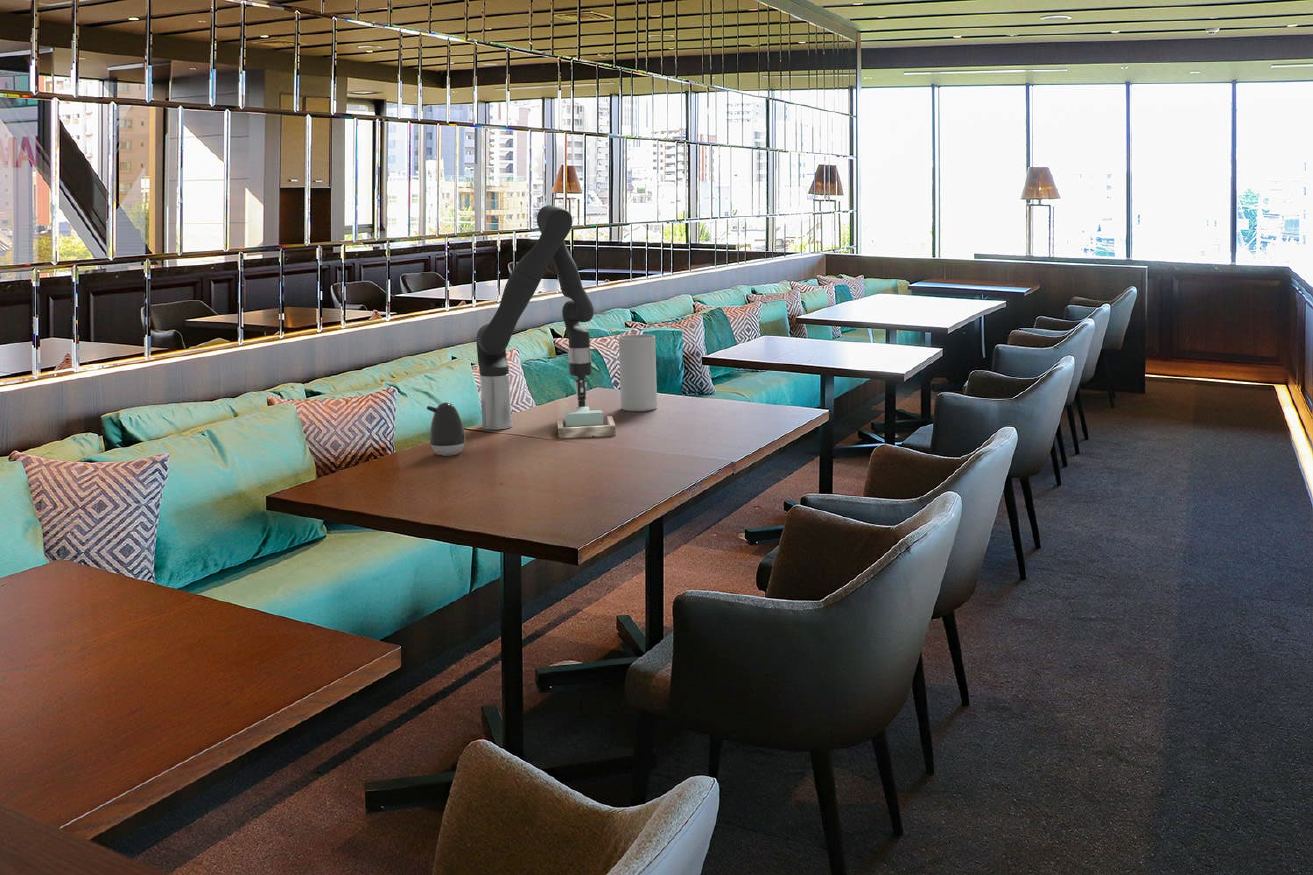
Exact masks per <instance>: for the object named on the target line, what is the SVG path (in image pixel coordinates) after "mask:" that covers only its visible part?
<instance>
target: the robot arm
mask: <svg viewBox="0 0 1313 875" xmlns="http://www.w3.org/2000/svg"><path fill="white" fill-rule="evenodd" d="M536 224H537V227H538V229H539V231H540V236H539V238H538V239H537V242H536V243H535V245H533V247H532V248H531V249H530V250H529V251H528V252H527V253H525V255H523V256H522V257H521V258H520V260H518V262H516V265H515V266H514V267H513V269H512V272H511V273H510V275H509V277H508V279H507V281H506V284H505V286H504V289H503V292H502V296H501V300H500V303H499V305H498V308H497V310H496V312H495V313H494V315H493V317H492V318H491V320H490V321H489V322H488V323H486V324H483V325H482V326H481V327H480V328H479V329H478V330H477V333H476V352H477V363H478V365H477V366H478V368H479V369H478V370H479V383H480V396H481V397H480V398H481V400H480V404H481V405H480V408H481V409H480V410H481V423H482V430H491V431H492V430H495V431H497V430H506V429H509V428H511V427H512V426H513V425H512V408H511V407H512V406H511V390H510V389H511V387H510V385H511V384H510V369H509V368H510V367H509V363H508V358H507V348H508V346H509V343H510V341H511V339H512V335H513V333H514V331H515V329H516V326H517V324H518V322H519V319H520V317H522V314H523V313H524V311H525V310H526V308H527V306H528V304H529V303H530V302H531V300H532V298H533V296H534V294H535V292H536V291H537V289H538V287H539V285H540V283H541V281H542V279H543V277H544V275H545V273H546V271H547V270H548V268H549V265H550V264H551V262H552V263H553V266H554V270H555V272H556V275H557V280H558V283H559V287H560V291H561V293H562V295H563V296H564V297H565V298H569V299H571V300H567V301H565V302H564V304H563V306H562V310H561V315H562V320H563V322H564V326H565V329H566V332H567V336H568V356H567V357H568V374H569V375H570V376H571V377H572V376H573V377H576V379H575V380H574V386H575V392H576V393H575V394H576V397H577V398H576V399H577V403H578V405H577V407H586V400H587V398H586V397H587V396H586V395H587V393H588V392H587V387H588V380H587V379H585V378H586V377H588V376H591V375H592V374H593V373H592V371H593V370H592V368H593V367H592V351H591V341H590V340H591V338H590V337H591V336H590V332H589V330H587V329H585V328H582V327H581V325H580V323H588V322H590V321H591V320H593V317H594V313H595V309H594V305H593V303H592V300H591V298H590V297H589V295H588V293H587V292H586V290H585V289H584V287H583V283H582V280H581V277H580V275H581V274H580V272H579V268H578V266H577V264H576V262H575V261H574V258H573V257H572V254H571V252H570V251H569V249H568V247H567V243H566V242H565V241H566V239H567V237H568V235H569V233H570V232H571V229H572V227H573V217H572V214H571V212H570V211H569V210H567V209H566V208H563V207H559V206H556V205H551V204H547V205H544V206H542V207H541V208H540V209H539V210H538V212H537V215H536Z"/></svg>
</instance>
